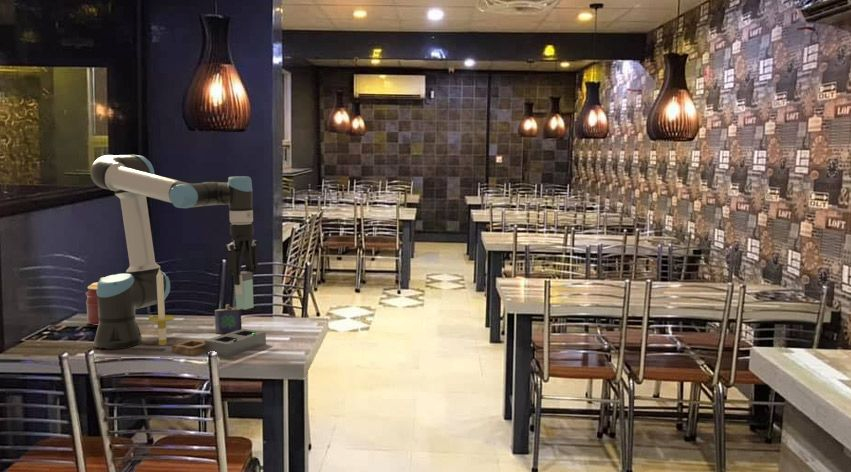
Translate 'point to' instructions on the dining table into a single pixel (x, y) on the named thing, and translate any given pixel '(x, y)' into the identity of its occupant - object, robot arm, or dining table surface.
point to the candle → (161, 311)
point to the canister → (92, 304)
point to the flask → (227, 320)
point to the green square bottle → (245, 292)
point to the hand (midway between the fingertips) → (244, 292)
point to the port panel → (235, 342)
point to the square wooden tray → (189, 347)
